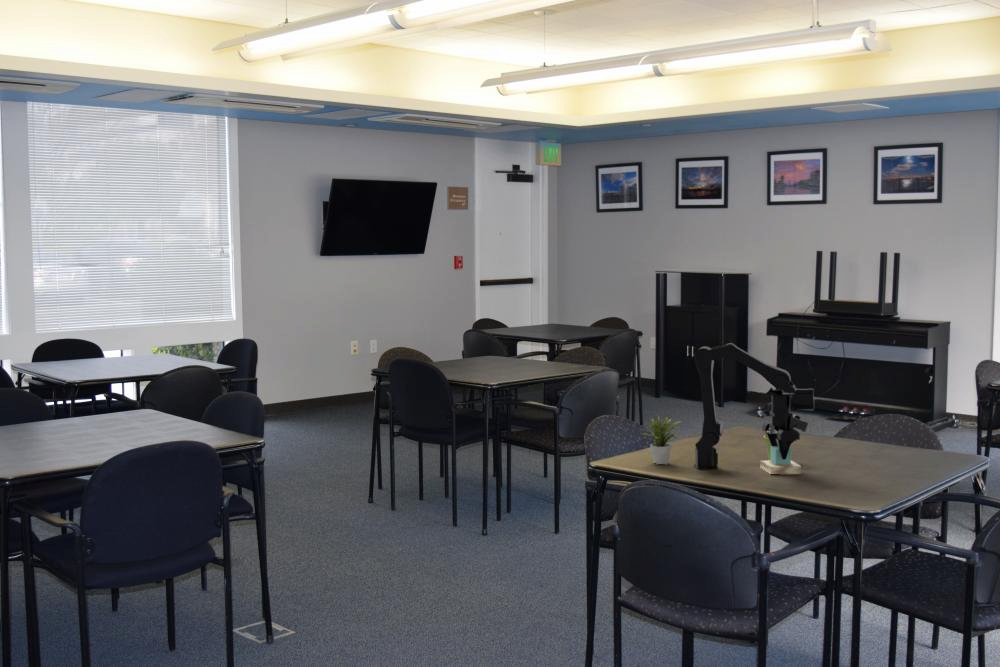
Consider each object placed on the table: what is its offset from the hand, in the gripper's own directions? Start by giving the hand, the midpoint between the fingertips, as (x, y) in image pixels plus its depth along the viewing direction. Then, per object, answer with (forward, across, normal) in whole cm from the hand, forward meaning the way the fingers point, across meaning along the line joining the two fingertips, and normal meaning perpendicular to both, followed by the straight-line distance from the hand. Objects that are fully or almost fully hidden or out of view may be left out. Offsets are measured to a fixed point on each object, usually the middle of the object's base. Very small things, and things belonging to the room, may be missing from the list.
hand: (780, 457), depth 324 cm
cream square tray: (+4, 0, 0) cm, 4 cm away
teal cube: (+2, 0, 0) cm, 2 cm away
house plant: (+5, +16, +35) cm, 39 cm away
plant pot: (+5, +14, -4) cm, 15 cm away
